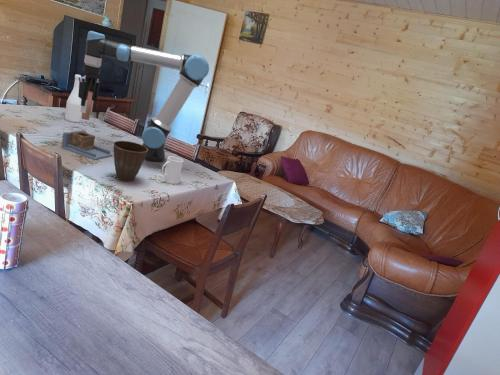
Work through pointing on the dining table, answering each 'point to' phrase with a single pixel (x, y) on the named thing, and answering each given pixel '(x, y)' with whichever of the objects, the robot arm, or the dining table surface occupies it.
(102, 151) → the rail board
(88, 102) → the dowel
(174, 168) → the mug
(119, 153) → the plant pot
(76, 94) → the wine bottle
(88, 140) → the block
